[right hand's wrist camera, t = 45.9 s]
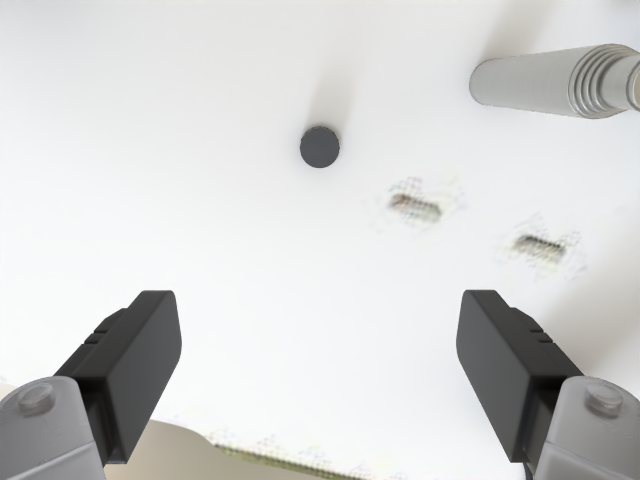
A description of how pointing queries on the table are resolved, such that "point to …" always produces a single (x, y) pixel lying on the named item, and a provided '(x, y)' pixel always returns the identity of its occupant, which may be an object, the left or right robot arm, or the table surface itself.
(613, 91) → the bottle
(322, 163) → the cap
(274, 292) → the table surface
